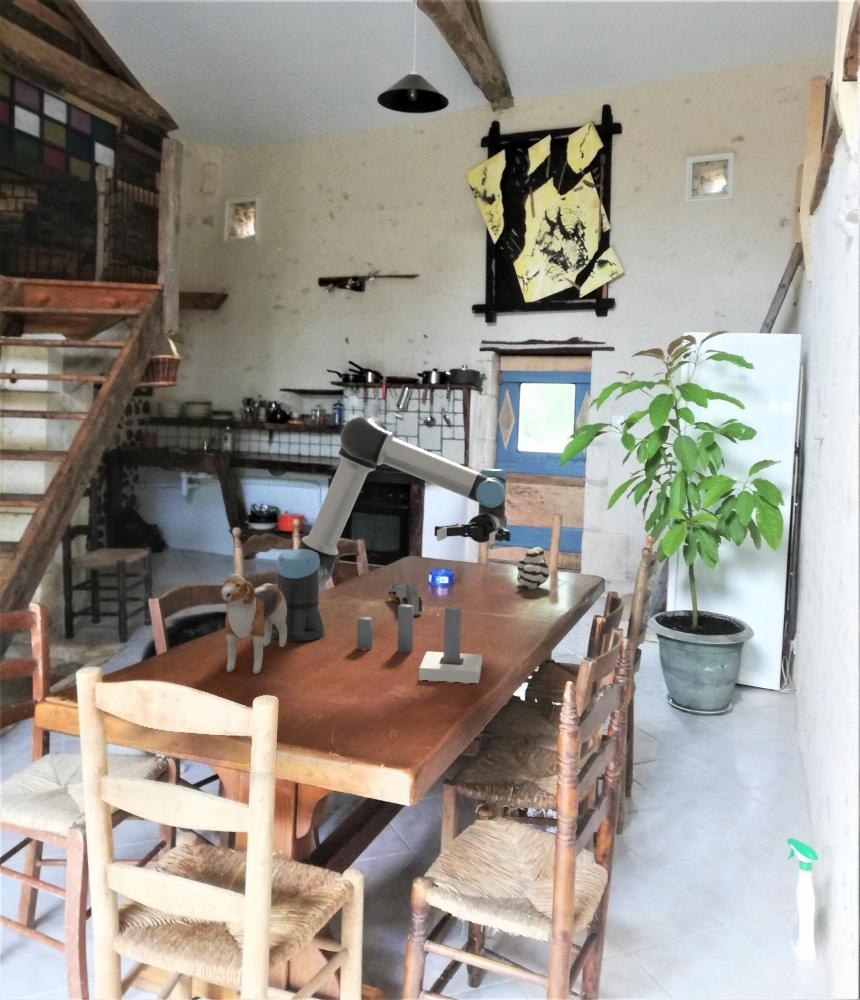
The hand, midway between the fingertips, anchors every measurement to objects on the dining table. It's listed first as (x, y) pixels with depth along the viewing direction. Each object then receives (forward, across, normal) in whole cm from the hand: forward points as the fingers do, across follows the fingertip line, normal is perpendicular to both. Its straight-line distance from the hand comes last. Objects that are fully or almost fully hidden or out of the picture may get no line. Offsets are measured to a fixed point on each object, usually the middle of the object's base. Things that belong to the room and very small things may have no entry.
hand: (464, 537), depth 202 cm
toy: (-52, +33, -32) cm, 69 cm away
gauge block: (+10, 0, -32) cm, 33 cm away
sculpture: (-99, -1, -32) cm, 104 cm away
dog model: (+19, +48, -32) cm, 61 cm away
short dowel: (-2, +27, -32) cm, 42 cm away
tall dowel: (+10, 0, -32) cm, 33 cm away
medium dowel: (-4, +16, -32) cm, 36 cm away
